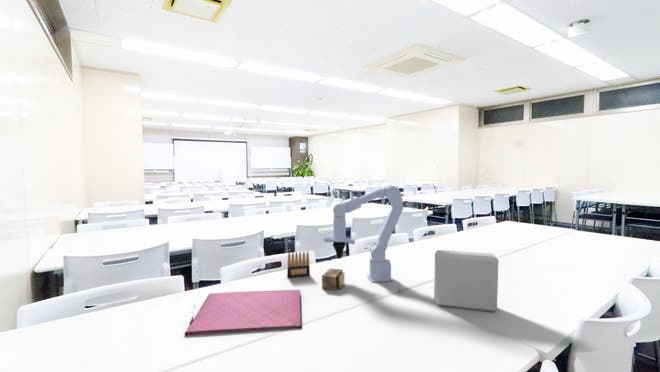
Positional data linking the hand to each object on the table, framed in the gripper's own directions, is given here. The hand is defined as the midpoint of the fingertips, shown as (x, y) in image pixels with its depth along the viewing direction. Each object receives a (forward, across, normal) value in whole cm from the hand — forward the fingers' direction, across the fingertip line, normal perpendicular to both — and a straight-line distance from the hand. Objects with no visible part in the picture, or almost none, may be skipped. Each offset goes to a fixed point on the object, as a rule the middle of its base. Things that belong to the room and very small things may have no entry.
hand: (339, 258), depth 142 cm
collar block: (+10, 0, -10) cm, 14 cm away
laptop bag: (+10, -22, -43) cm, 50 cm away
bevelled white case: (+10, +53, -12) cm, 55 cm away
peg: (+10, 0, -10) cm, 14 cm away
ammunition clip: (+10, -19, -4) cm, 22 cm away
